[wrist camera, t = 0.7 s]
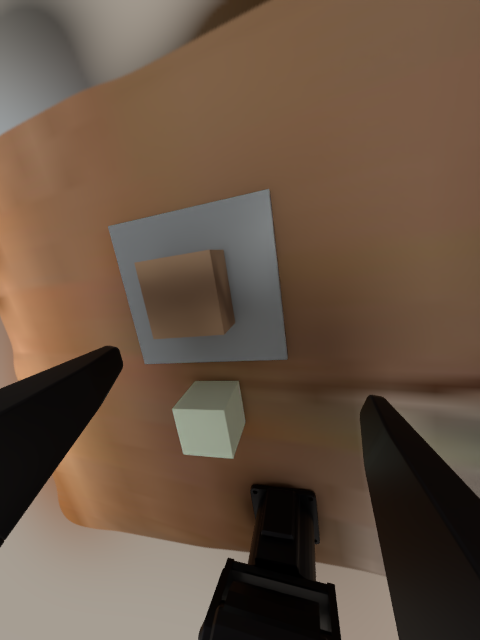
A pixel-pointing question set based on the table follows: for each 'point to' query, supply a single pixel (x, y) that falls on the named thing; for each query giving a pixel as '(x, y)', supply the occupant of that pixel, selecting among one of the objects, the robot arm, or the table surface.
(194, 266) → the walnut block
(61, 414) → the robot arm
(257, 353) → the slate pad
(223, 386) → the sage cube
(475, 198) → the table surface
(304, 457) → the table surface
